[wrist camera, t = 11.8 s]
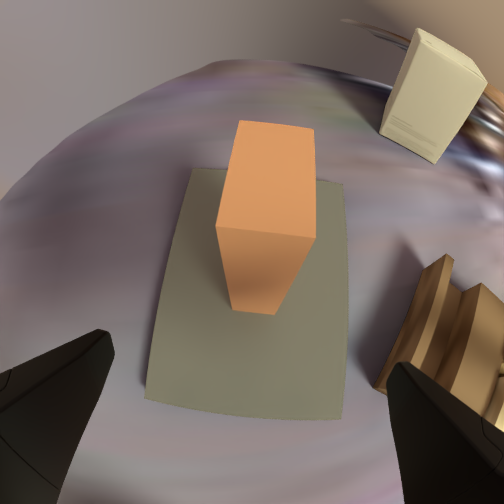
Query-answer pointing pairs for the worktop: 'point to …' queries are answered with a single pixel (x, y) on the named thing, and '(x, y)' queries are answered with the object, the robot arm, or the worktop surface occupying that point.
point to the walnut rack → (452, 337)
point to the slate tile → (251, 321)
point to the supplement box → (431, 96)
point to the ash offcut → (496, 406)
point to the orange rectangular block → (267, 213)
